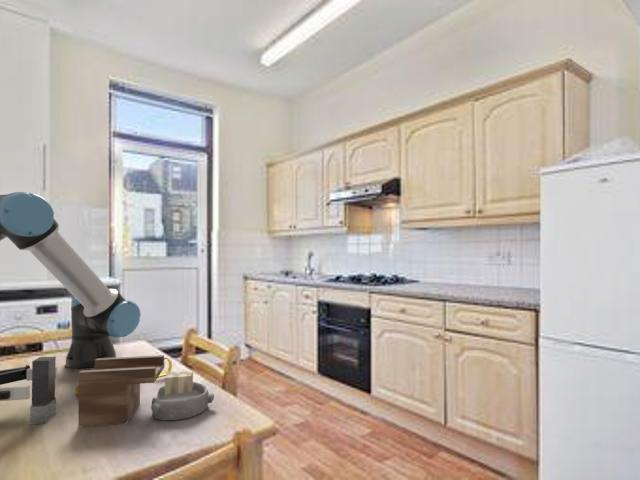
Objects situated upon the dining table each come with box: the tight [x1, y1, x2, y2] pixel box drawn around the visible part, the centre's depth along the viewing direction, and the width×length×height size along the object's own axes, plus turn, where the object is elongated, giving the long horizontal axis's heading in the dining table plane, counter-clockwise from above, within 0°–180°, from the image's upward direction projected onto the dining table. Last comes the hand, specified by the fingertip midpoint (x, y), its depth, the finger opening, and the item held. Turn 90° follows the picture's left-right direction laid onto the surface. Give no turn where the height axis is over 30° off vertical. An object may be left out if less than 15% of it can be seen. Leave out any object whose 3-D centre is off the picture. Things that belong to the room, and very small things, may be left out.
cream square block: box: [178, 370, 194, 394], centre depth 102 cm, size 4×4×3 cm
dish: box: [150, 381, 215, 421], centre depth 102 cm, size 14×14×5 cm
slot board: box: [77, 354, 165, 428], centre depth 99 cm, size 12×16×12 cm
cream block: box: [164, 371, 181, 394], centre depth 101 cm, size 4×4×3 cm
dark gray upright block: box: [29, 356, 57, 426], centre depth 96 cm, size 6×3×14 cm, turn 10°
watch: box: [158, 355, 173, 378], centre depth 128 cm, size 6×3×6 cm, turn 136°
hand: (43, 382), depth 96 cm, fingers open, 13 cm apart
